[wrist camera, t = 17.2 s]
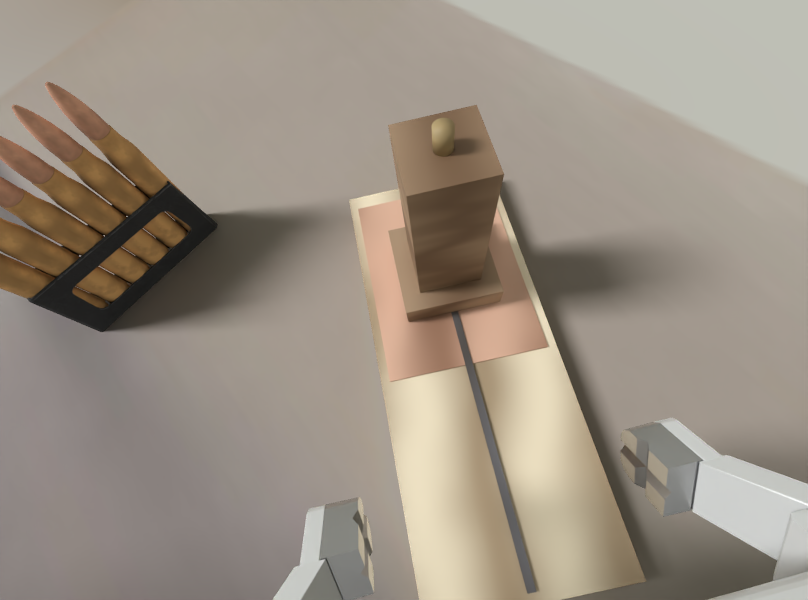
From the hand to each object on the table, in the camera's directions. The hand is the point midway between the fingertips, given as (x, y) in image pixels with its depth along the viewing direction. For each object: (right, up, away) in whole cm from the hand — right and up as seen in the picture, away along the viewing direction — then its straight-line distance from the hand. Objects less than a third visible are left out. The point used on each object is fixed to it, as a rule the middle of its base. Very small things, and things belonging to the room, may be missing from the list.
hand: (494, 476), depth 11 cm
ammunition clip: (-21, +7, +16) cm, 27 cm away
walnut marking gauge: (0, +7, +12) cm, 14 cm away
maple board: (+1, +2, +11) cm, 12 cm away
